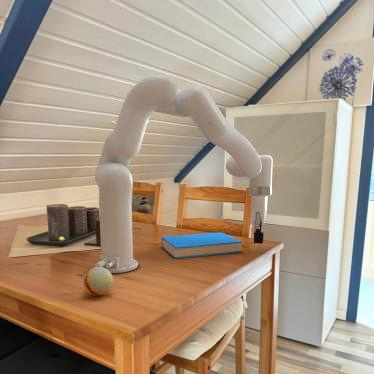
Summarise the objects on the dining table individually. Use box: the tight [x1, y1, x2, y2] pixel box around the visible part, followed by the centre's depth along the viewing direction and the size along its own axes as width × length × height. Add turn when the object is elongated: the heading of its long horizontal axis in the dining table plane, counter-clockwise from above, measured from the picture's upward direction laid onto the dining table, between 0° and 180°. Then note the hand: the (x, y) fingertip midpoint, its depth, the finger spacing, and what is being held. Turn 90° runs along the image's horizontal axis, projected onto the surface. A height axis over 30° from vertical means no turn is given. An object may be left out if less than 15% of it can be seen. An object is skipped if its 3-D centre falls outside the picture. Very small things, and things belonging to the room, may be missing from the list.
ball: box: [82, 266, 114, 297], centre depth 85 cm, size 7×7×7 cm
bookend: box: [84, 218, 101, 247], centre depth 139 cm, size 14×9×10 cm, turn 163°
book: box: [161, 232, 243, 260], centre depth 128 cm, size 17×4×25 cm
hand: (258, 242), depth 124 cm, fingers closed
